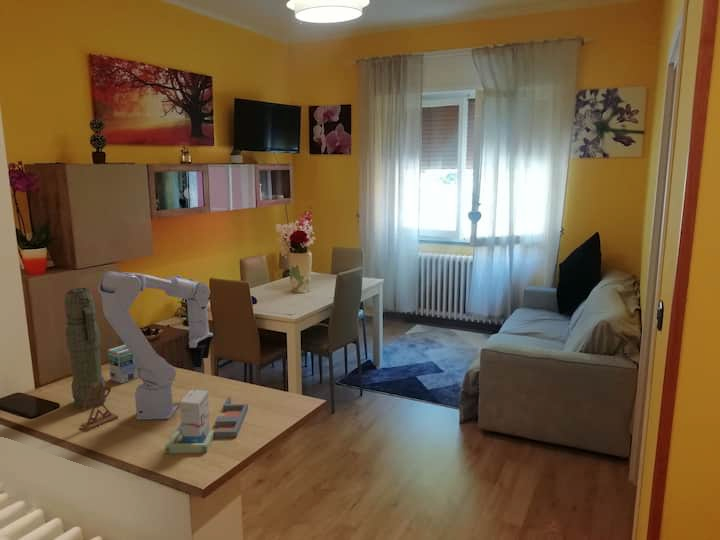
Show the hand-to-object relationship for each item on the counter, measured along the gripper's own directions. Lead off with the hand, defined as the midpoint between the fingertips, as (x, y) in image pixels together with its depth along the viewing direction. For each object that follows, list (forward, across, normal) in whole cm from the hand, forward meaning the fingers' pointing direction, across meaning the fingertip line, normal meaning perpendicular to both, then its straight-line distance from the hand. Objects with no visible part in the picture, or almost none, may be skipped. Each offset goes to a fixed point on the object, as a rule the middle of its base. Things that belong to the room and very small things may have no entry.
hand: (201, 362), depth 166 cm
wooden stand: (+11, -19, +24) cm, 32 cm away
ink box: (+11, -28, -6) cm, 31 cm away
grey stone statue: (+11, -5, +33) cm, 35 cm away
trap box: (+10, -21, -8) cm, 25 cm away
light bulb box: (+11, +15, +29) cm, 35 cm away
